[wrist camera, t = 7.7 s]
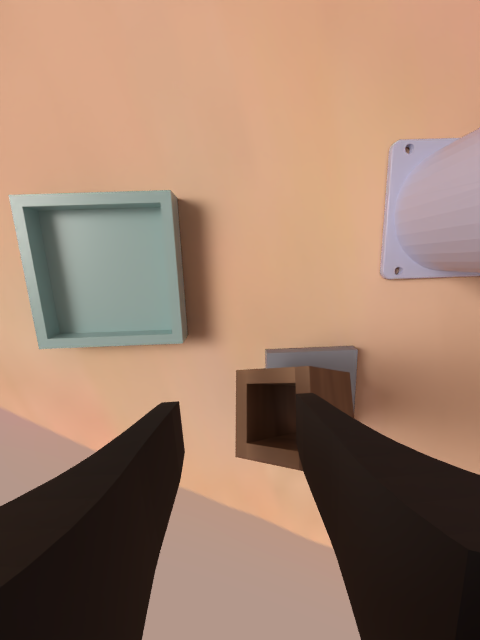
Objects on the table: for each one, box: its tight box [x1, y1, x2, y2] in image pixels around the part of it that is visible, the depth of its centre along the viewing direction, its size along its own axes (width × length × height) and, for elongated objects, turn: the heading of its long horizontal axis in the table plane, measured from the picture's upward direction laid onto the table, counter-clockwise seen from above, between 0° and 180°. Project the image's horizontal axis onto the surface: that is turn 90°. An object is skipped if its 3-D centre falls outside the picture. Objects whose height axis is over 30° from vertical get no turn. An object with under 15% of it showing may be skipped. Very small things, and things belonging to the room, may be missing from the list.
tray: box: [9, 190, 188, 349], centre depth 16 cm, size 9×9×2 cm
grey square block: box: [265, 346, 358, 411], centre depth 17 cm, size 6×6×4 cm
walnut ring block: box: [236, 366, 354, 471], centre depth 14 cm, size 4×4×5 cm
